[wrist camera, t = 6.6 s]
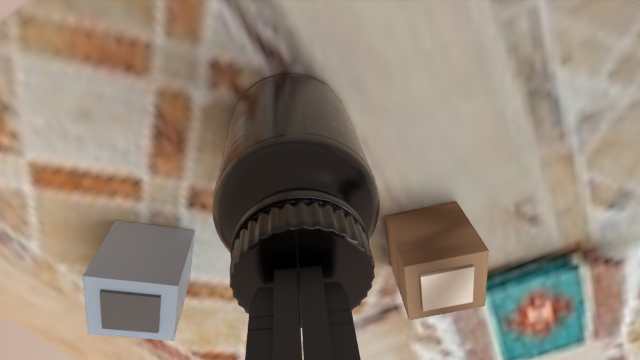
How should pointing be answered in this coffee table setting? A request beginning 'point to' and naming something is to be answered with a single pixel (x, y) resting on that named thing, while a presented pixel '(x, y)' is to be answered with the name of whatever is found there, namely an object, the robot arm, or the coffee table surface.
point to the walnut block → (437, 260)
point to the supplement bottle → (295, 189)
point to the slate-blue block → (138, 281)
